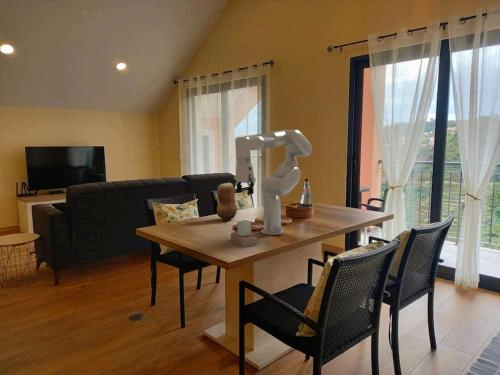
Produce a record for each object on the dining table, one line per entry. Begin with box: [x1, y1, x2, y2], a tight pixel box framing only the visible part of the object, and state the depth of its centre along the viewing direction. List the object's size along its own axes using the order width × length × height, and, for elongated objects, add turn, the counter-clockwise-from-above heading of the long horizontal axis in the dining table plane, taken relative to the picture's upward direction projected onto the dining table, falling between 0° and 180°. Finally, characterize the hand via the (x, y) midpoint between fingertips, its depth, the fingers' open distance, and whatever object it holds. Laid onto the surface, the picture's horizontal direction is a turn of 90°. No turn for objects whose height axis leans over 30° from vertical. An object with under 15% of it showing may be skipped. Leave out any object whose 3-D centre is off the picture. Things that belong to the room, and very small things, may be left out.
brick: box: [230, 231, 258, 248], centre depth 193 cm, size 17×8×5 cm, turn 26°
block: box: [236, 219, 252, 236], centre depth 193 cm, size 5×5×7 cm
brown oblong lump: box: [216, 182, 238, 221], centre depth 250 cm, size 14×13×25 cm
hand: (245, 193), depth 197 cm, fingers open, 9 cm apart
